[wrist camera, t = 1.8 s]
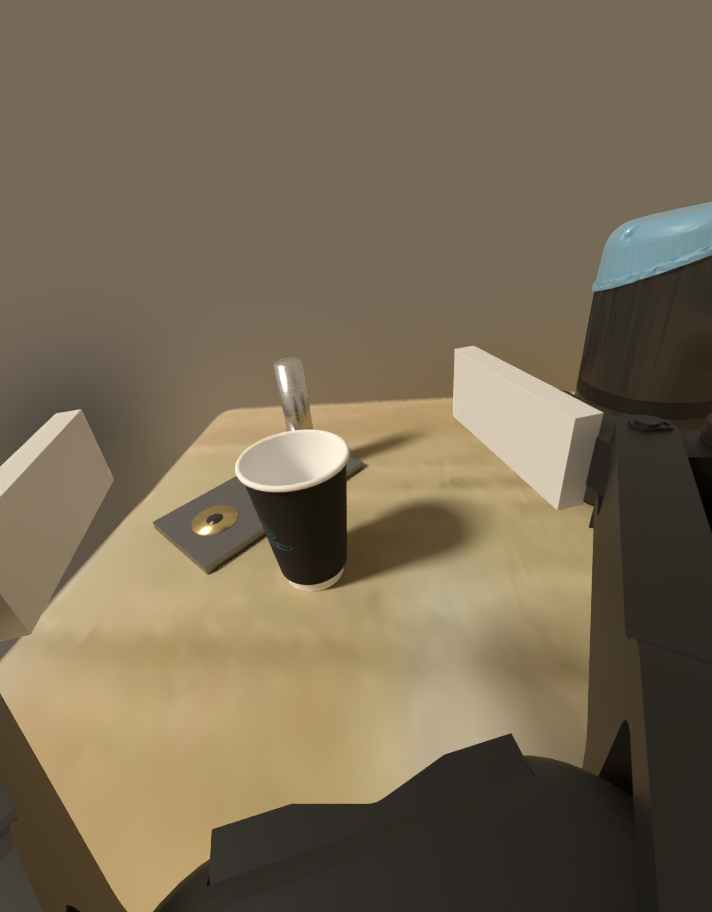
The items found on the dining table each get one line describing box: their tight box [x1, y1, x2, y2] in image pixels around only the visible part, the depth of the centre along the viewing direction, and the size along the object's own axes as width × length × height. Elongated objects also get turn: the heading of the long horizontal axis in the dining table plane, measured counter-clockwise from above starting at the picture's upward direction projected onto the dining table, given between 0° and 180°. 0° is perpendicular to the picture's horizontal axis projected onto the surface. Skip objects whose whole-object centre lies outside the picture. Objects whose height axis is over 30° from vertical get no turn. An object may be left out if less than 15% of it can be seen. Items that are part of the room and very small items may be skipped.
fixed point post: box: [274, 357, 313, 432], centre depth 44 cm, size 4×4×12 cm
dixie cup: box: [235, 430, 350, 592], centre depth 31 cm, size 8×8×11 cm
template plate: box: [153, 457, 363, 574], centre depth 43 cm, size 20×10×1 cm, turn 138°
